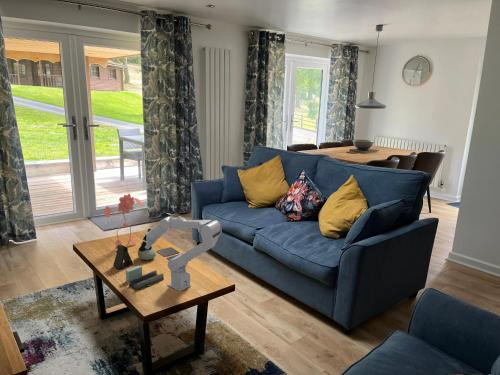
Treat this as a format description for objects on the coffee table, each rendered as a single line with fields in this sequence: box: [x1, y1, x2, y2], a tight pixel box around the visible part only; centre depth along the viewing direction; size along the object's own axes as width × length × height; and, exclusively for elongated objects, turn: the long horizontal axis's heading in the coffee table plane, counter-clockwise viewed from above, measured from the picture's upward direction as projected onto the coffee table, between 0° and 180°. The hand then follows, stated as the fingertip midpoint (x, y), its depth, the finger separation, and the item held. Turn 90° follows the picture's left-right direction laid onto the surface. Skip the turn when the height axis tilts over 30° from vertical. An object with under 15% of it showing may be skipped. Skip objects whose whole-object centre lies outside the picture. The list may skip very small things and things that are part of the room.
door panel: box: [125, 265, 143, 283], centre depth 196 cm, size 2×8×6 cm, turn 141°
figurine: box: [103, 193, 145, 253], centre depth 231 cm, size 15×26×35 cm, turn 145°
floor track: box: [128, 269, 165, 291], centre depth 193 cm, size 7×16×3 cm, turn 141°
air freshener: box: [137, 240, 157, 261], centre depth 221 cm, size 11×8×10 cm
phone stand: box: [112, 244, 134, 271], centre depth 210 cm, size 9×6×12 cm, turn 141°
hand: (142, 245), depth 197 cm, fingers open, 7 cm apart
